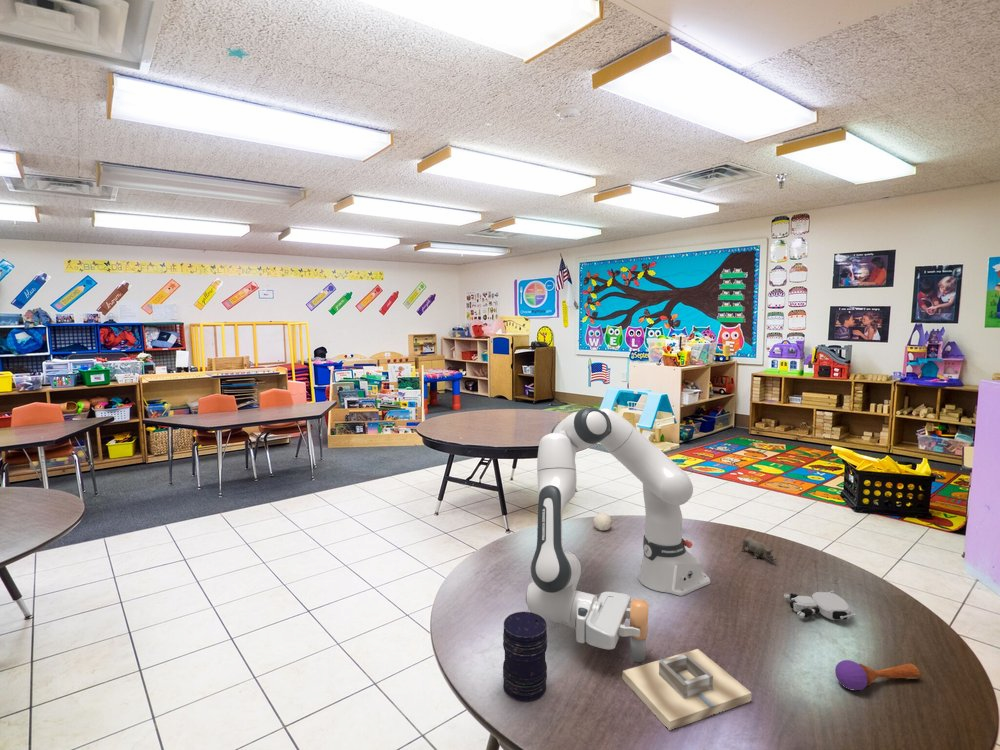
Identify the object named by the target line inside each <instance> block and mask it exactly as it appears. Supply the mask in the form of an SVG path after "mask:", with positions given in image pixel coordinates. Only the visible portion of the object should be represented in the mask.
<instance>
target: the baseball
mask: <svg viewBox="0 0 1000 750" xmlns="http://www.w3.org/2000/svg"><path fill="white" fill-rule="evenodd" d="M593 524H594V526H595V528H596V529H597V530H599V531H608V530H609V529H610V528H611V527H612V518H611V516H610V515H609V514H608V513H605V512H600V513H598V514H596V515H595V516H594V517H593Z"/></svg>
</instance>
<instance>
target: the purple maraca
mask: <svg viewBox="0 0 1000 750" xmlns="http://www.w3.org/2000/svg"><path fill="white" fill-rule="evenodd" d="M834 674H835V678H836V679H837V681H838V682H839V684H842V685H841V686H843V685H844V686H845V687H847V688H849V689H854V690H860V691H863V690H864V689H865V688H866V687H867V686H870V685H871V684H872V683H873V682H874V681H875V680H876V679H877V678H879V677H881V678H888V679H889V678H890V679H899V678H907V677H920V678H921V672H920V669H919V668H918V667H917V666H916V665H915V664H913V663H906V664H901V665H896V666H891V667H887V668H883V669H878V670H874V669H872V668H870V667H868V666H866V665H865V664H861V663H858V662H855V661H854V660H850V659H845V660H841V661H839V662H838V663H837V664H836V665H835V672H834ZM844 686H843V687H844ZM845 687H844V688H845ZM847 688H846V689H847ZM849 689H848V690H849Z"/></svg>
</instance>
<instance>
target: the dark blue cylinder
mask: <svg viewBox="0 0 1000 750" xmlns="http://www.w3.org/2000/svg"><path fill="white" fill-rule="evenodd" d="M547 629H548V623H547V620H545V619H544V618H543V617H541V616H540V615H538V614H535V613H532V612H530V611H518V612H514V613H512V614H509V615H507V616H506V618H505V619H504V621H503V633H502V637H503V638H502V639H503V642H502V645H503V646H502V647H503V652H504V660H503V664H502V665H503V666H502V679H503V691H504V693H505V694H506V695H507V697H509V698H510V699H512V700H514V701H515V702H516V701H517V702H520V703H532V701H533V702H535V700H536V701H538V700H540V699H541V698H543V697H544V695H545V693H546V690H547V677H548V667H547V665H548V664H547V662H546V652H547V650H548V649H547V648H548V634H547V633H548V632H547V631H548V630H547Z"/></svg>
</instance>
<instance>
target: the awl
mask: <svg viewBox="0 0 1000 750" xmlns="http://www.w3.org/2000/svg"><path fill="white" fill-rule="evenodd" d="M634 625H635V626H639V627H640V628H641V634H640V636H639V637H636V636H630V648H629V649H630V652H629V653H630V654H629V655H630V659H631V661H633V662H636V663H643V662H645V661H646V654H647V653H646V652H647V651H646V649H647V639H648V635H649V634H648V628H649V603H648V601H646V599H645V600H644V599H641V598H633V599H631V604H630V619H629V627H633V626H634Z"/></svg>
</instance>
